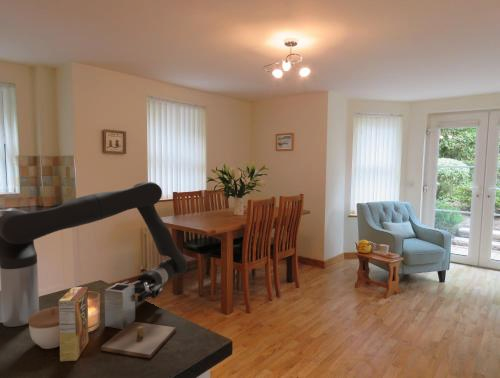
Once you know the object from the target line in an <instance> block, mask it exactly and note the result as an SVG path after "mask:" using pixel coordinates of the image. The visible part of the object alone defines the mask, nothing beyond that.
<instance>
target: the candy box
mask: <svg viewBox="0 0 500 378" xmlns="http://www.w3.org/2000/svg"><path fill="white" fill-rule="evenodd" d="M88 293H89V291H88V286H79V287H78V286H77V287H74V286H73V287H71V288H70V289H69V290H68V291H67V292H66V293H65V294H64V295H63V296H62V297H61V298H60V299H59V300H58V306H59V333H60V346H59V361H60V362H61V363H62V362H72V361H73V362H74V361H78V359H79V357H80V356H81V354H82V353H83V351H84V349H85V348H86V346H88V345H87V344H88V343H89V297H88V296H89V294H88Z"/></svg>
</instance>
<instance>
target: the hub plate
mask: <svg viewBox="0 0 500 378" xmlns="http://www.w3.org/2000/svg"><path fill="white" fill-rule="evenodd" d="M176 329H177V328H176V327H175V326H167V325H160V324H152V323H146V322H138V321H132V322H131V323H130V324H129V325H127V326H126V327H125V328H124V329H120V331H118V332H117V333H116V334H115V335H113V336H112V337H111V338H110V339H109V340H108V341H105V342H104V343H103V344H102V345H101V346H100V351H103V352H109V353H115V354H121V355H126V356H134V357H140V358H144V359H145V358H146V359H151V358H152V357H153V356H154V355H155V354H156V352H158V350H160V349H161V347H162V346H163V345H164V344H165V343H166V342H167V341H168V340H169V339H170V338H171V336H173V334H174V333H175V332H176Z"/></svg>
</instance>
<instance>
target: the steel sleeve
mask: <svg viewBox="0 0 500 378" xmlns="http://www.w3.org/2000/svg"><path fill="white" fill-rule="evenodd" d="M122 283H123V282H121V283H120V282H116V283H115V284H113V285H111V286H110V287H107V288H106V289H104V320H105V321H104V325H105V326H104V327H107V328H113V329H114V328H115V329H118V330H119V329H120V330H122V329H124V328H125V327H126V326H127V325H129V324H130V323H131V322H132V321H133V322H135V320H136V302H135V301H136V298H135V297H136V296H135V295H136V294H135V285H131V284H122Z"/></svg>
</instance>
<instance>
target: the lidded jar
mask: <svg viewBox="0 0 500 378" xmlns="http://www.w3.org/2000/svg"><path fill="white" fill-rule="evenodd" d="M28 328H29V335H30V337H31V340H32V341H33V342H34V344H36V345H38V347H40V348H41V349H45V350H49V349H55V348H58V347H60V333H59V305H57V306H51V307H47V308H44V309H40V310H39V311H38V312H36V313H34V314H33V315H31V316H30V318H29V320H28Z"/></svg>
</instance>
